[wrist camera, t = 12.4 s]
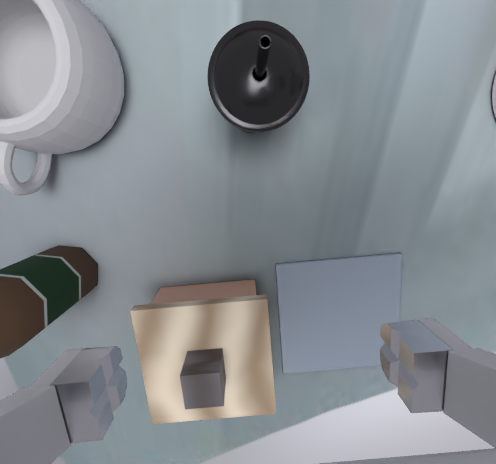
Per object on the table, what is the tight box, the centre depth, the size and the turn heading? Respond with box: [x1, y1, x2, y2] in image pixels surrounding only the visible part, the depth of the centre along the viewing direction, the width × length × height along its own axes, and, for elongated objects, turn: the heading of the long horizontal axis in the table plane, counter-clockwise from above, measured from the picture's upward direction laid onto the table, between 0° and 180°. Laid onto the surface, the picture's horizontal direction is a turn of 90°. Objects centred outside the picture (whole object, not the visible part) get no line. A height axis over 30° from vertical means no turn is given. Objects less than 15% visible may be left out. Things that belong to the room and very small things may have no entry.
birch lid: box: [131, 294, 276, 424], centre depth 32 cm, size 15×15×5 cm
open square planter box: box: [149, 279, 256, 305], centre depth 37 cm, size 13×13×7 cm
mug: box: [0, 0, 124, 195], centre depth 29 cm, size 21×17×10 cm
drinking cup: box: [208, 21, 310, 133], centre depth 25 cm, size 8×8×20 cm
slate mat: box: [276, 253, 402, 374], centre depth 41 cm, size 17×17×1 cm
